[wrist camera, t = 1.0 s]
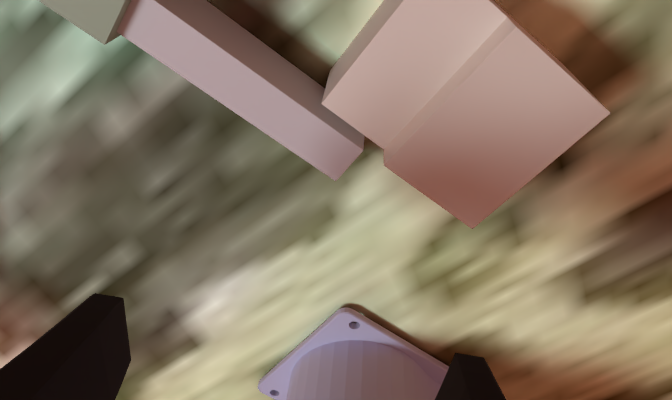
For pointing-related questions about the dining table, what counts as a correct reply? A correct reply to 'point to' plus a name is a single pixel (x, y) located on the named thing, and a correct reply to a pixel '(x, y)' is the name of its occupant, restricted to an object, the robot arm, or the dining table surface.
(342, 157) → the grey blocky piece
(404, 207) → the dining table surface
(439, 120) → the pink stepped block
